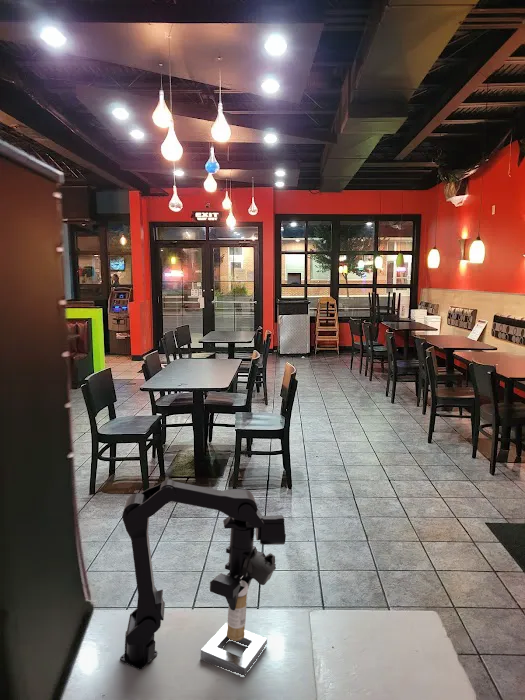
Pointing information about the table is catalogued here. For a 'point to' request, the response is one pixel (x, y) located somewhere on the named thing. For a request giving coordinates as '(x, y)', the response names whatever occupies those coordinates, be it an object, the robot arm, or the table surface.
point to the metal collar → (228, 660)
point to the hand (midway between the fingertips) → (237, 604)
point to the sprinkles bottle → (238, 616)
